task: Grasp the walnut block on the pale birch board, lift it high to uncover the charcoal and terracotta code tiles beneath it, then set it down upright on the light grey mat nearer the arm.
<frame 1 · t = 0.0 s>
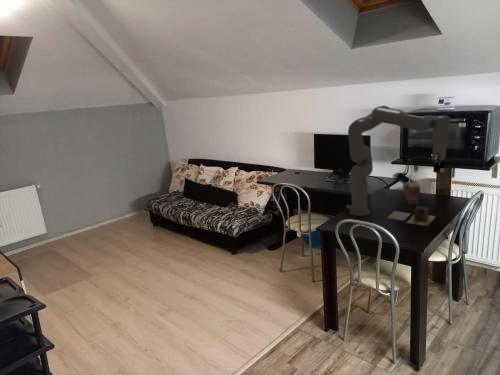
hand: (438, 170, 209), 31 cm above the table, tool pointing down, fingers open, 9 cm apart
walnut block: (421, 219, 225), resting on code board
stack of blocks: (410, 200, 262), on the table
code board: (421, 219, 225), on the table
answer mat: (399, 215, 234), on the table
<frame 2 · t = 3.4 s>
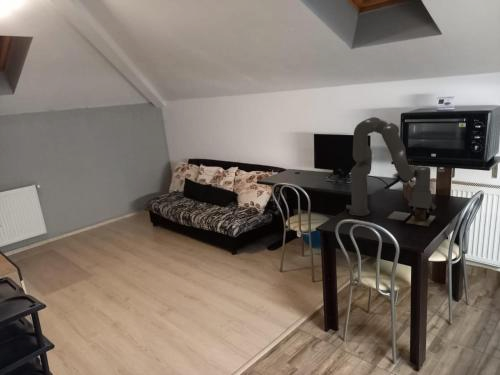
hand: (421, 217, 225), 1 cm above the table, tool pointing down, fingers closed on walnut block, 6 cm apart
walnut block: (421, 219, 225), resting on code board, touching gripper
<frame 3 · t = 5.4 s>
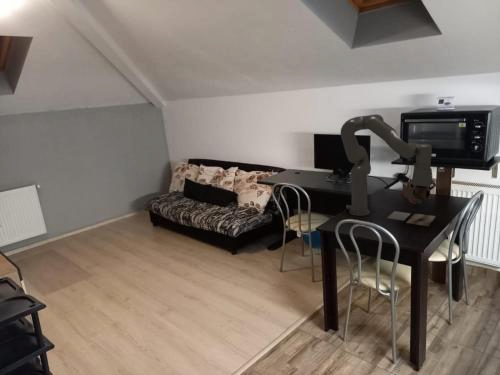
hand: (421, 196, 222), 14 cm above the table, tool pointing down, fingers closed on walnut block, 6 cm apart
walnut block: (421, 198, 222), point 13 cm above the table, touching gripper
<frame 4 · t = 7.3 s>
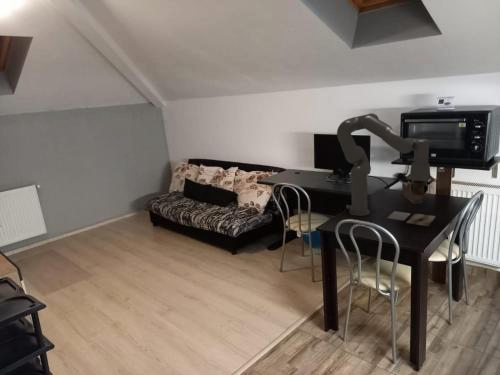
hand: (419, 191, 222), 17 cm above the table, tool pointing down, fingers closed on walnut block, 6 cm apart
walnut block: (419, 193, 222), point 16 cm above the table, touching gripper
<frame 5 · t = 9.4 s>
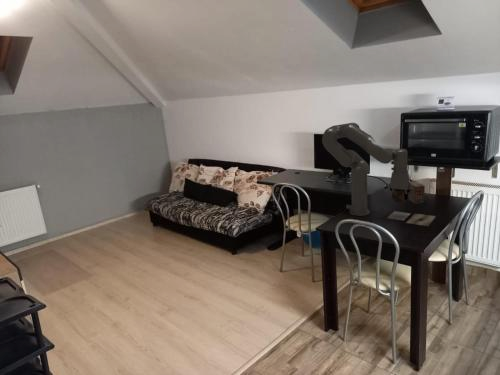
hand: (400, 198, 231), 11 cm above the table, tool pointing down, fingers closed on walnut block, 6 cm apart
walnut block: (400, 200, 231), point 10 cm above the table, touching gripper
when the fingers open (3 cm above the table, at t = 11.3 s): walnut block drops 1 cm, resting on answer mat.
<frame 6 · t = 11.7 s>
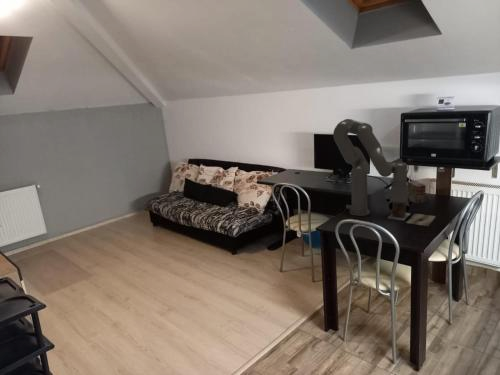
hand: (399, 210, 233), 4 cm above the table, tool pointing down, fingers open, 9 cm apart
walnut block: (398, 215, 234), resting on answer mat
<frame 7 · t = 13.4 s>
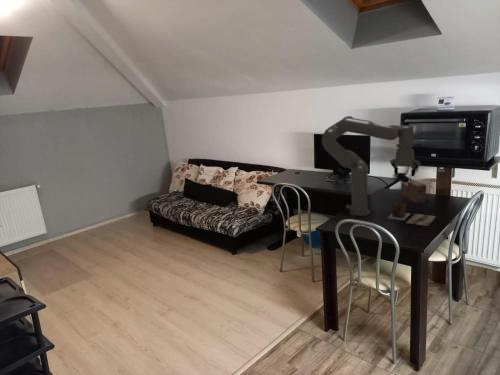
hand: (404, 175, 229), 25 cm above the table, tool pointing down, fingers open, 9 cm apart
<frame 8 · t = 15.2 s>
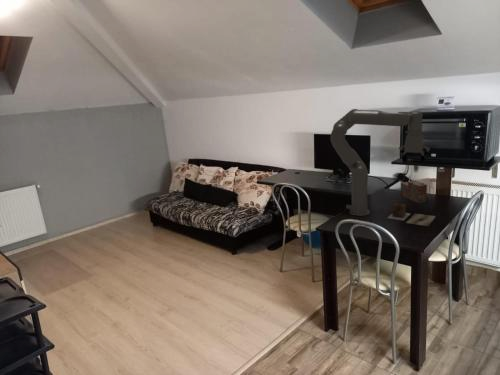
hand: (413, 161, 229), 32 cm above the table, tool pointing down, fingers open, 9 cm apart
at the end: walnut block inside the target area on the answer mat (0.0 cm from its centre), point 0.1 cm above the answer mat's base; walnut block tilted 0°; the gripper is holding nothing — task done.
